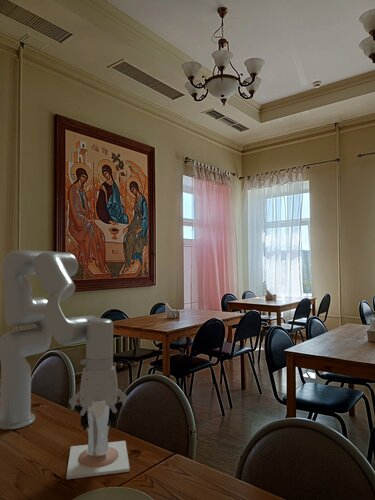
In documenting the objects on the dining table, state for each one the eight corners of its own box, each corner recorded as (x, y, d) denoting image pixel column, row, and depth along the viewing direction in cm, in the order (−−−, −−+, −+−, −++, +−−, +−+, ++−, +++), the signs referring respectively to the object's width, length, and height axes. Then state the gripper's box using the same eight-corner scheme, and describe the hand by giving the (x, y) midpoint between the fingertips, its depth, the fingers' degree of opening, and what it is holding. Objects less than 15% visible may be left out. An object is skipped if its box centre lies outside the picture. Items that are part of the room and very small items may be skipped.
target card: (70, 449, 111) (70, 445, 111) (125, 443, 115) (125, 439, 115) (66, 479, 96) (66, 474, 96) (129, 471, 99) (129, 467, 99)
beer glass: (79, 453, 104) (80, 398, 104) (96, 442, 110) (97, 391, 111) (99, 459, 101) (99, 403, 101) (115, 448, 107) (116, 395, 107)
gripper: (66, 368, 101) (64, 436, 100) (131, 365, 105) (130, 429, 104) (68, 361, 108) (67, 424, 107) (129, 358, 112) (128, 418, 111)
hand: (98, 426), depth 106 cm, fingers closed on beer glass, 6 cm apart
